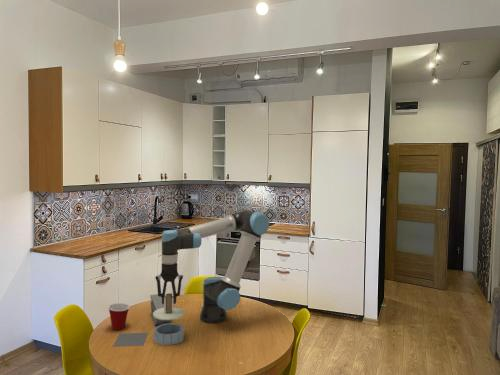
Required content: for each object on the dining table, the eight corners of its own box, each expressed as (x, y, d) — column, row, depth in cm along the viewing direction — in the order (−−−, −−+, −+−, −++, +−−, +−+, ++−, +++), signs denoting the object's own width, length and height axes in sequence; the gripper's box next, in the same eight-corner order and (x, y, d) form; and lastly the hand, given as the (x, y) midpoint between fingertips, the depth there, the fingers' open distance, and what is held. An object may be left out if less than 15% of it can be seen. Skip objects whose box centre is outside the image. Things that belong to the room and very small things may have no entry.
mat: (148, 333, 186) (148, 332, 186) (143, 346, 172) (143, 345, 172) (119, 334, 185) (119, 333, 185) (112, 347, 171) (112, 346, 171)
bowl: (184, 332, 188) (184, 322, 188) (182, 345, 174) (182, 334, 174) (156, 333, 187) (156, 323, 187) (152, 346, 173) (152, 335, 173)
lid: (185, 308, 188) (185, 289, 188) (183, 319, 173) (183, 299, 173) (155, 308, 187) (155, 289, 186) (150, 320, 172) (150, 299, 171)
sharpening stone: (171, 328, 193) (172, 308, 192) (156, 331, 190) (156, 310, 189) (164, 311, 216) (164, 293, 215) (150, 313, 213) (150, 295, 212)
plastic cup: (128, 332, 187) (128, 309, 187) (105, 333, 185) (105, 310, 185) (131, 323, 198) (131, 301, 197) (110, 324, 196) (110, 302, 196)
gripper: (186, 260, 184) (186, 307, 185) (153, 260, 182) (153, 307, 183) (185, 264, 176) (185, 312, 177) (151, 264, 174) (150, 313, 175)
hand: (169, 310), depth 180 cm, fingers closed on lid, 3 cm apart
